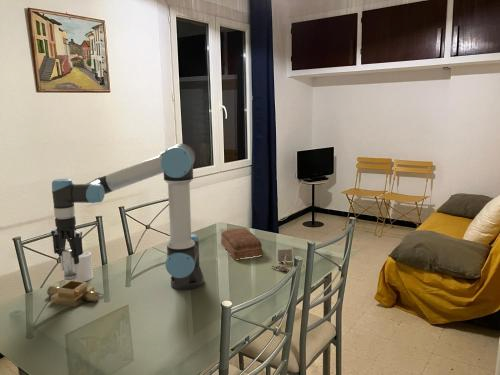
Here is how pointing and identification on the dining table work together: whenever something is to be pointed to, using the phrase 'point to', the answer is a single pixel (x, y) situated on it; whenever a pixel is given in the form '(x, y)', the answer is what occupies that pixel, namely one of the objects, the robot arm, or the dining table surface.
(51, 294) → the valve body
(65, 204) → the robot arm
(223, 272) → the dining table surface
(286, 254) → the decorative sculpture
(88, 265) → the mug
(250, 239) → the bread
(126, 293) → the dining table surface
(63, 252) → the pipe stub
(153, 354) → the dining table surface
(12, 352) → the dining table surface
